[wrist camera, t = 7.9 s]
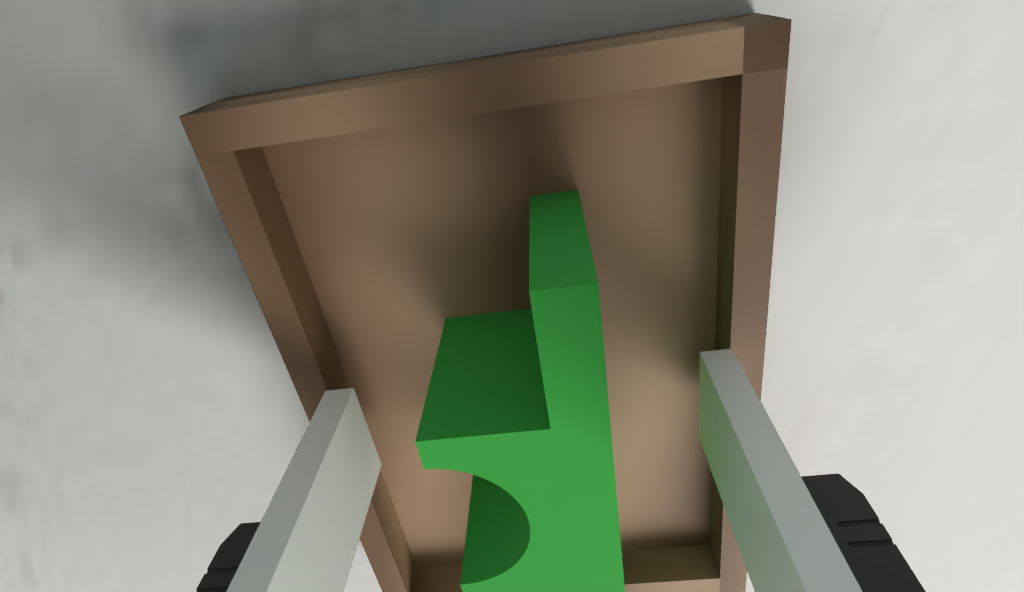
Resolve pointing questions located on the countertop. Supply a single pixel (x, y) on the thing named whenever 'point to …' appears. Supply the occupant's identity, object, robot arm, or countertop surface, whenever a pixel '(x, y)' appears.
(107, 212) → the countertop surface
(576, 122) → the tray
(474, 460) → the pipe clamp
